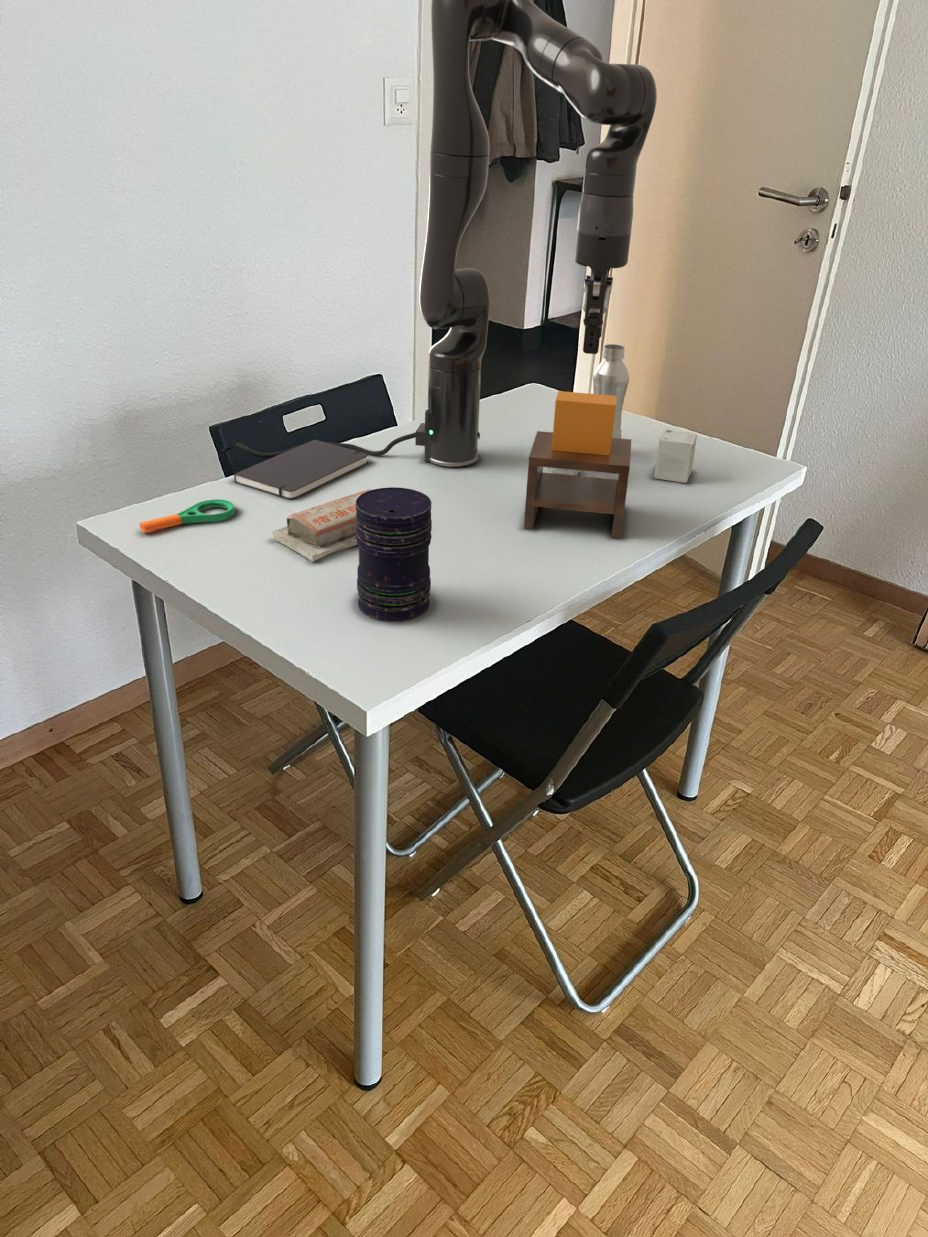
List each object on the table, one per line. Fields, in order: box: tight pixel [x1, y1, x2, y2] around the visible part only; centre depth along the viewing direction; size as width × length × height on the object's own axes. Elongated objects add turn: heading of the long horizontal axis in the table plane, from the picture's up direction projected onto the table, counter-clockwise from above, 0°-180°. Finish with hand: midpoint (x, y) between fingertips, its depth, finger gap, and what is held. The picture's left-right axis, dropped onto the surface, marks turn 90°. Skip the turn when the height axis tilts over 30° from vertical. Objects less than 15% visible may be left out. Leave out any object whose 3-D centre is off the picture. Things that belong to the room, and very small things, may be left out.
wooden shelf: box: [523, 430, 632, 540], centre depth 155 cm, size 15×12×12 cm
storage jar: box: [356, 486, 433, 623], centre depth 128 cm, size 10×10×15 cm
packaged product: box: [272, 489, 371, 563], centre depth 149 cm, size 18×5×10 cm
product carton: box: [653, 429, 698, 484], centre depth 174 cm, size 6×6×7 cm
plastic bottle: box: [592, 343, 630, 439], centre depth 179 cm, size 6×7×20 cm
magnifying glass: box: [139, 498, 235, 534], centre depth 152 cm, size 15×6×2 cm, turn 131°
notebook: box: [233, 439, 369, 500], centre depth 171 cm, size 13×2×21 cm
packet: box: [552, 390, 617, 456], centre depth 150 cm, size 9×5×8 cm, turn 80°
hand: (592, 345), depth 144 cm, fingers open, 8 cm apart
